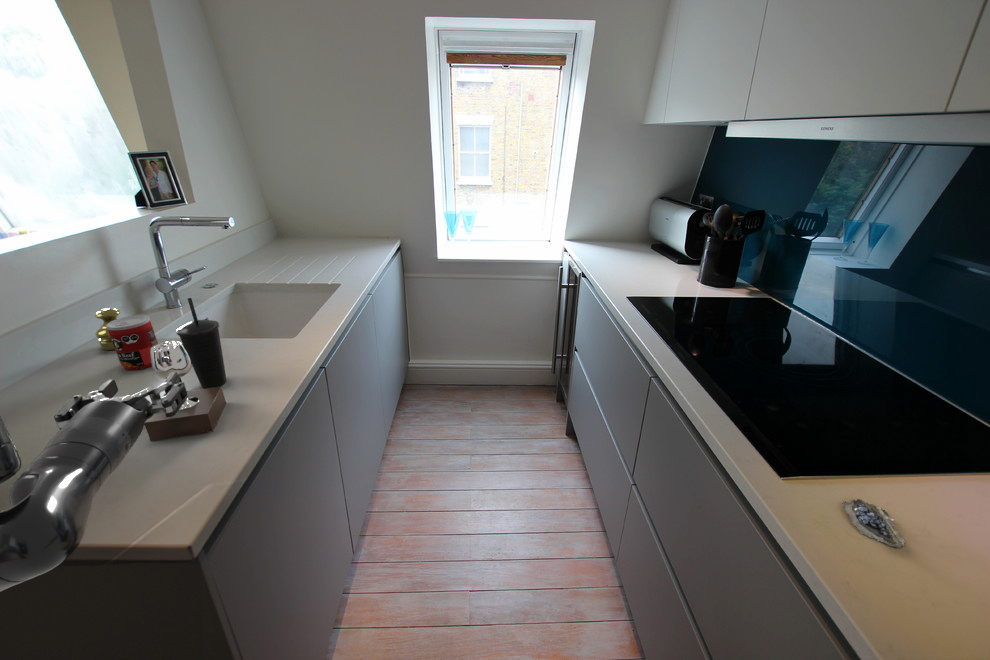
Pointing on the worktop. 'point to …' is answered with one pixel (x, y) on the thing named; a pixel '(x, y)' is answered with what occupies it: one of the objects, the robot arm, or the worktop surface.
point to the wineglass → (172, 363)
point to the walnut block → (189, 416)
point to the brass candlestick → (102, 333)
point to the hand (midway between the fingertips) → (145, 381)
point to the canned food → (133, 341)
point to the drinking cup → (204, 349)
